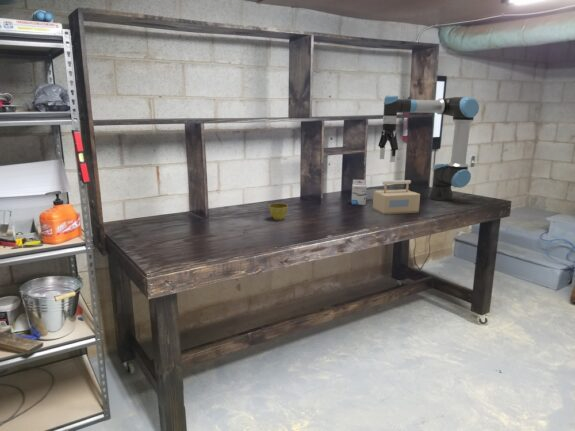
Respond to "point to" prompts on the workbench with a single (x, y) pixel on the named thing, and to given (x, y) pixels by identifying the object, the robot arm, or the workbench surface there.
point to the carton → (396, 202)
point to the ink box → (359, 192)
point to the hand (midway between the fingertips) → (387, 160)
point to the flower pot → (278, 211)
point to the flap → (395, 183)
